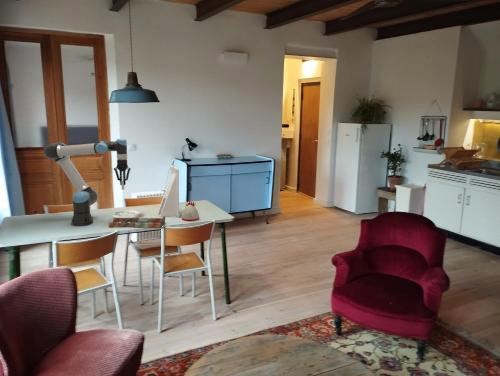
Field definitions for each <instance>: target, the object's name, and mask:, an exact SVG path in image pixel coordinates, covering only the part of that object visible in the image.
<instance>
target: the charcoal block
mask: <svg viewBox="0 0 500 376" xmlns="http://www.w3.org/2000/svg"><path fill="white" fill-rule="evenodd" d="M138 223H149V219H139V220H138Z"/></svg>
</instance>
